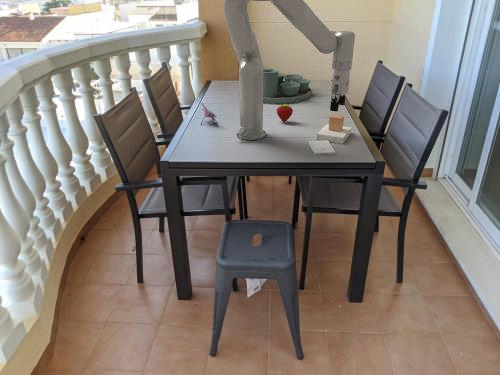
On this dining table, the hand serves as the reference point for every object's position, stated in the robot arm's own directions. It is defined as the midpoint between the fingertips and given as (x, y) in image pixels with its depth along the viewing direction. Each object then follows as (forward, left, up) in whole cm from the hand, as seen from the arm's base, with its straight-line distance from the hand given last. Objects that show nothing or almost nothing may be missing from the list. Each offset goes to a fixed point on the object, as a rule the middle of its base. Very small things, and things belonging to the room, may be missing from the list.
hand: (337, 107), depth 166 cm
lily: (-9, +57, -12) cm, 59 cm away
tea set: (+50, +49, -12) cm, 71 cm away
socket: (-1, 0, -12) cm, 12 cm away
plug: (0, 0, -12) cm, 12 cm away
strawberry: (+7, +26, -12) cm, 29 cm away
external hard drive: (-17, 0, -13) cm, 21 cm away
